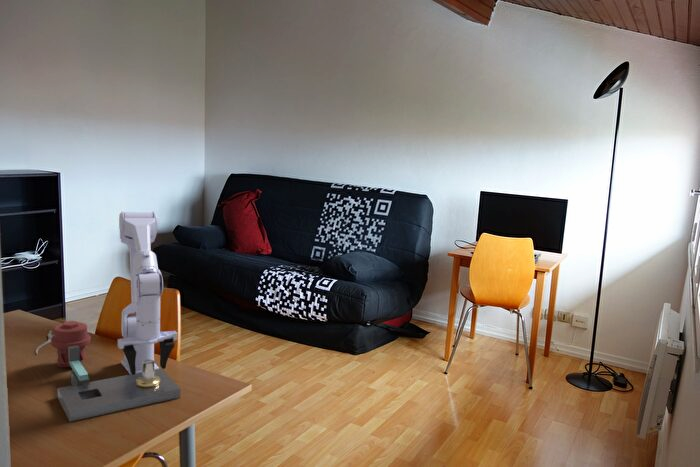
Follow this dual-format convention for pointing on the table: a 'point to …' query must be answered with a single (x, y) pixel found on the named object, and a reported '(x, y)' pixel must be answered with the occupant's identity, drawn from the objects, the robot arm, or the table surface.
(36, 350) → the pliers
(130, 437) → the table surface
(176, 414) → the table surface
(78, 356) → the locking bolt
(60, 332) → the mechanical component
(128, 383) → the block
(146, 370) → the gold disc with post
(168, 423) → the table surface
